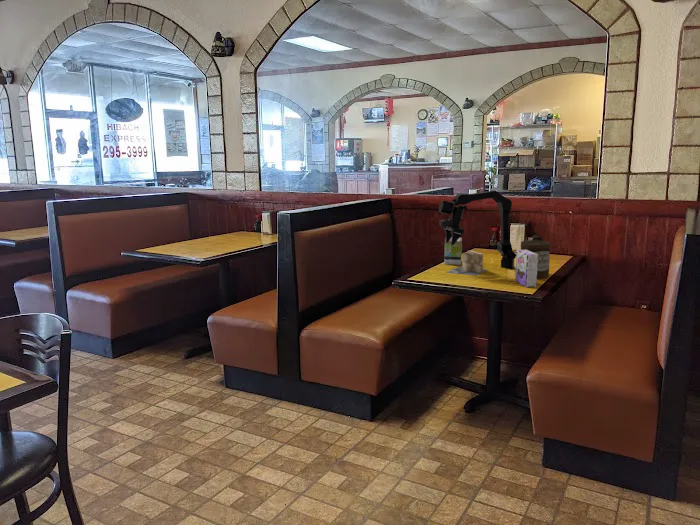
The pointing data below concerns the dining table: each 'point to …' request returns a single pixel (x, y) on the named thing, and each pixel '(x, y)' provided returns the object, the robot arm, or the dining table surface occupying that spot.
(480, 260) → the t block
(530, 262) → the candy box
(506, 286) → the dining table surface
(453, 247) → the tea box
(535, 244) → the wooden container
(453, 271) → the push board
